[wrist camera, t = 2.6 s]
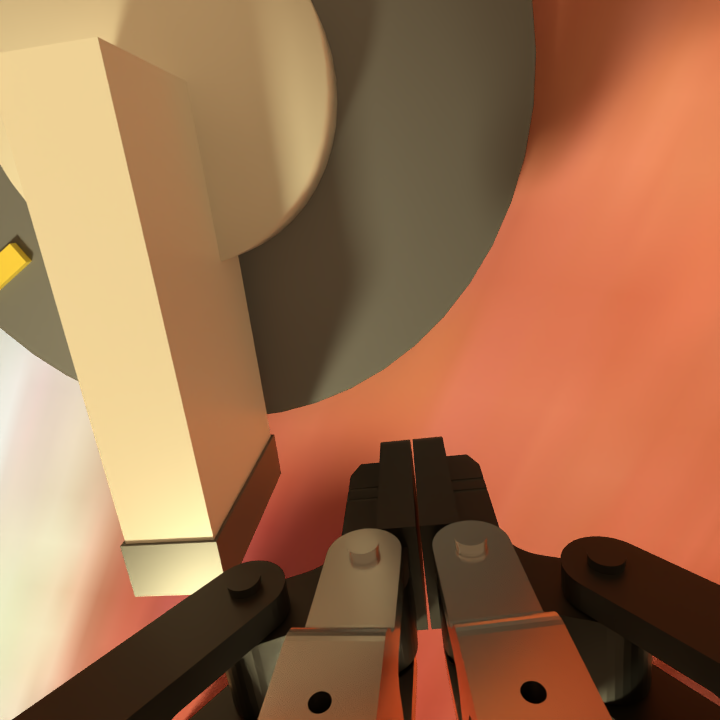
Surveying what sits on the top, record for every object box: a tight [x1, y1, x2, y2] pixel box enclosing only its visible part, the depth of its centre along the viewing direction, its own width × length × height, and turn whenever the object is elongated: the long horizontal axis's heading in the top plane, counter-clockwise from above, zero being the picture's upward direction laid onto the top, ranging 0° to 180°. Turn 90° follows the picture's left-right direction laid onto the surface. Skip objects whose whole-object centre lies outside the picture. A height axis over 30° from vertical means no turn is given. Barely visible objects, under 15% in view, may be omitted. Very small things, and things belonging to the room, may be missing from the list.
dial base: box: [0, 0, 536, 414], centre depth 17 cm, size 22×22×2 cm
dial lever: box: [0, 0, 337, 597], centre depth 14 cm, size 18×10×7 cm, turn 7°
